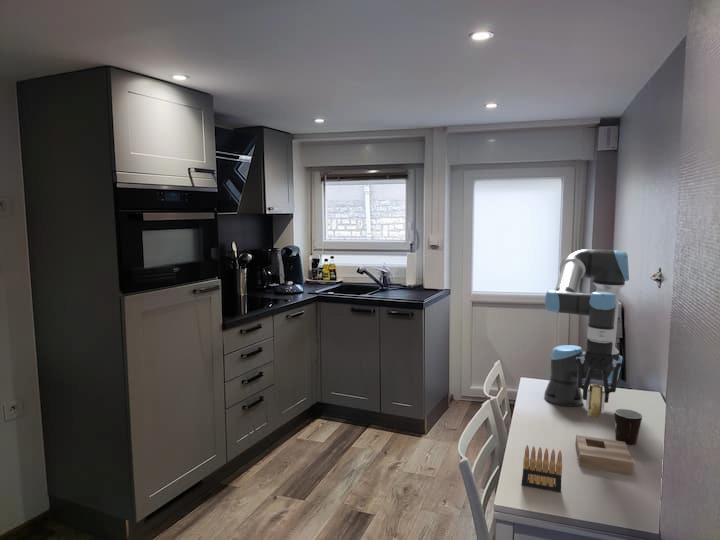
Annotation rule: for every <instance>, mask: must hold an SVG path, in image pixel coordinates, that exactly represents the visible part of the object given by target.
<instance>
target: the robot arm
mask: <svg viewBox="0 0 720 540" xmlns="http://www.w3.org/2000/svg"><path fill="white" fill-rule="evenodd" d="M628 256H629V255H628V254H627V252H625V251H623V250H616V249H593V248H592V249H590V248H584V249H578V250H576V251H573V252H571V253H570V254H568V255H566V256H565V257H564V258H563V259H562V260H561V262H560V265H559V277H558V279H557V283H556V286H555V288H554V289H552V290H550V289H549V290H547V291H546V294H545V298H544V299H545V300H544V307H545V310H546V311H547V312H551V313H555V314H558V313H559V314H569V315H570V314H571V315H578V316H588V324H587V333H586V337H587V338H588V339H587V340H586V349H585V351H584V350H583V348H582V347H581V346H579V345H571V344H567V345H565V344H564V345H563V344H562V345H558V346H557V345H556V346H554V348H552V351H551V357H550V372H549V374H550V375H549V381H548V384H547V386H546V388H545V391H544V400H545V401H547V402H549V403H551V404H553V405H554V404H555V405H558V406H562V407H577V406H581V405H582V404H583V401H585V407H584V408H585V411H586V412H588V411H589V399H590V390H589V389H590V383H591V382H597V383H603V390H602V402H601V414H605V413H604V411H605V404H607V403H609V399H610V398H609V397H610V393H615V392H616V389H617V384H618V380H619V376H620V372H621V368H622V363H623V356H622V355H620V351H619V350H618V348H617V347H616V340H617V330H618V318H619V305H620V303H619V302H620V295H621V293H620V292H621V289H622V288H623V287H625V285H626V284H625V282H627V281H628V282H629V280H630V272H629V258H628ZM582 278H588V279H592V284H593V285H594V286H595V291H593V292H591V293H586V292H583V293H582V292H579V289H580V288H579V287H580V284H581V279H582ZM583 380H584V382H583ZM609 384H610V387H609Z"/></svg>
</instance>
